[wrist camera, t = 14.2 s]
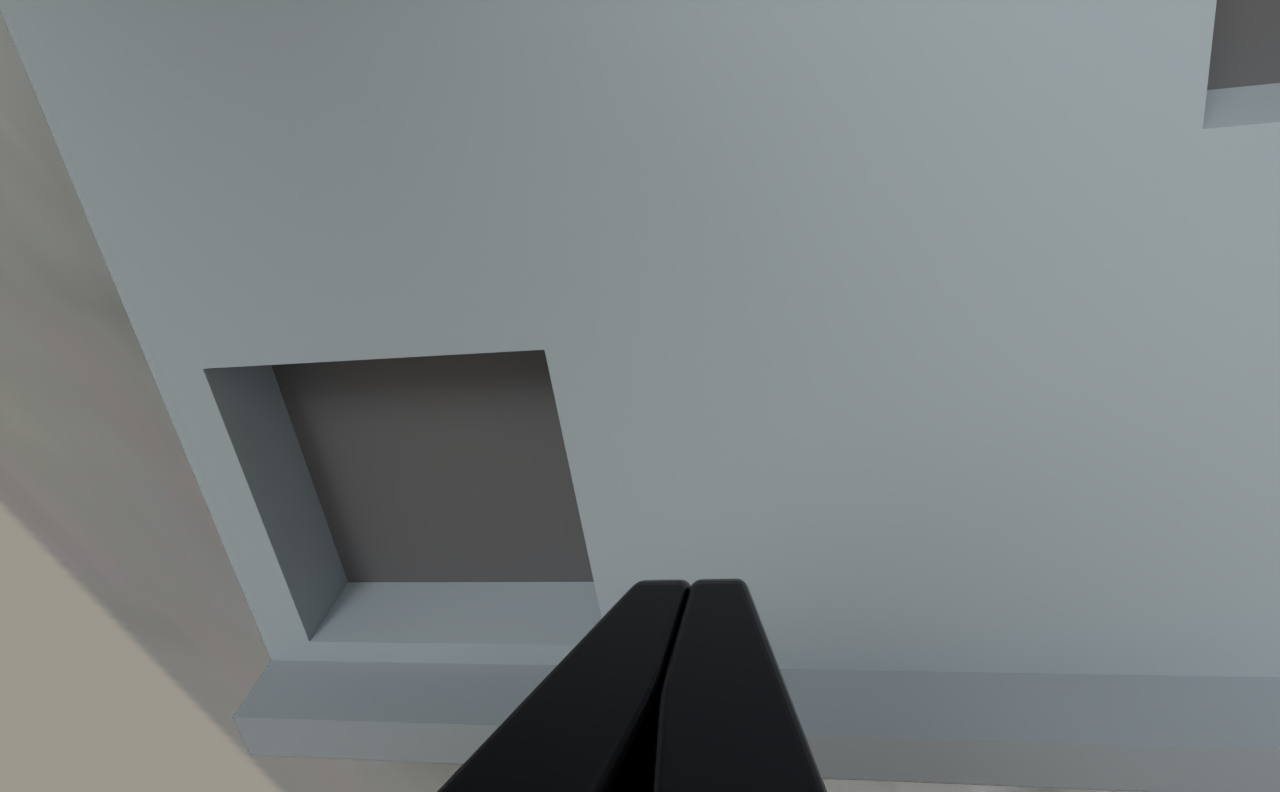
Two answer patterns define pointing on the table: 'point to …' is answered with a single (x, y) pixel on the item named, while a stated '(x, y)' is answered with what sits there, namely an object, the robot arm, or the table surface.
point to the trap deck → (719, 354)
